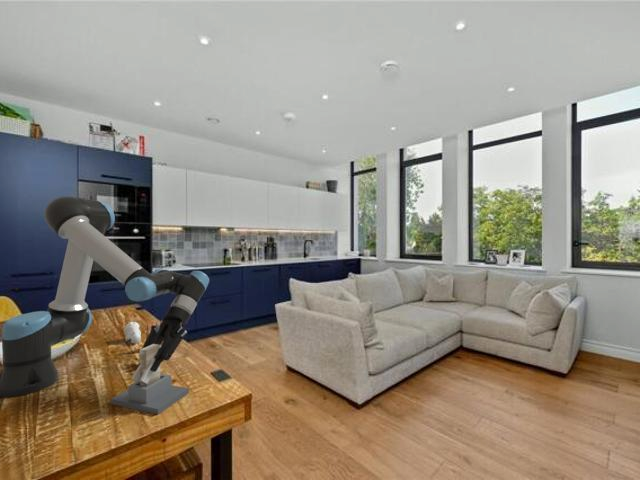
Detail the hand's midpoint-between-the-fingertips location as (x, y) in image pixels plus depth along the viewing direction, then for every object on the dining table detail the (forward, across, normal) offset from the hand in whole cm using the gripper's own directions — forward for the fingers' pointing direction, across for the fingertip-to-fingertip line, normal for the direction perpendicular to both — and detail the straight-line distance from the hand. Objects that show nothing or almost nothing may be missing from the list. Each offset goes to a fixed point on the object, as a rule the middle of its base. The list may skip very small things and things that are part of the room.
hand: (139, 381), depth 89 cm
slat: (0, 0, -5) cm, 5 cm away
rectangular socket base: (+2, 0, -8) cm, 8 cm away
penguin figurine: (-23, +49, -34) cm, 64 cm away
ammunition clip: (-21, +31, -32) cm, 50 cm away
